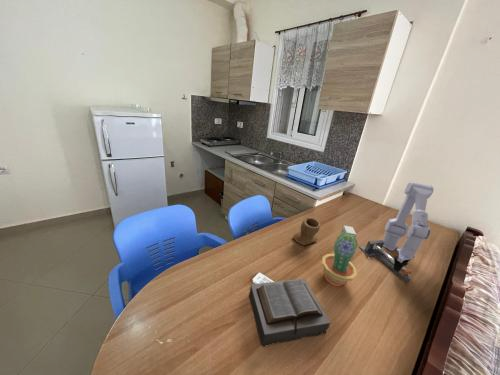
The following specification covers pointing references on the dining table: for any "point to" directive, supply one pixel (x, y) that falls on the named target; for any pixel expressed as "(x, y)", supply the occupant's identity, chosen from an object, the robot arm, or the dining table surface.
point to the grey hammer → (382, 257)
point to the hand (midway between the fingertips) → (398, 267)
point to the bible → (286, 311)
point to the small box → (348, 230)
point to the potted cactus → (341, 260)
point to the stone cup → (308, 231)
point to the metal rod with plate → (391, 259)
